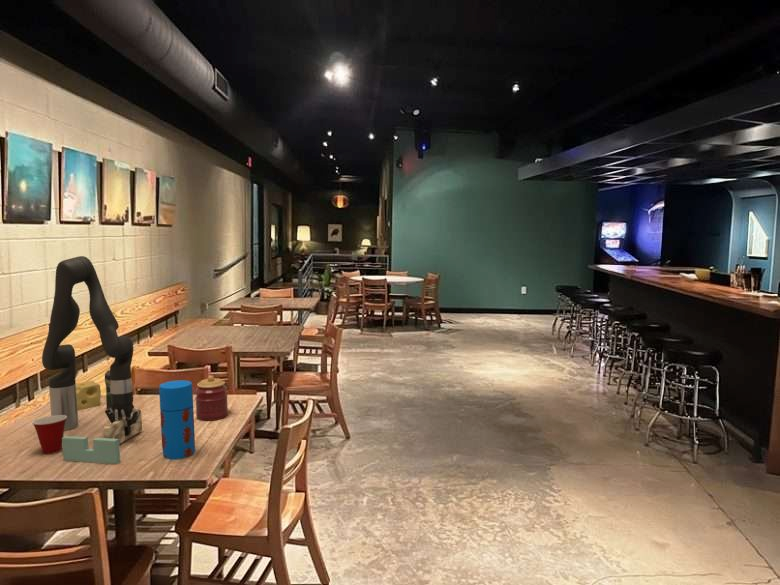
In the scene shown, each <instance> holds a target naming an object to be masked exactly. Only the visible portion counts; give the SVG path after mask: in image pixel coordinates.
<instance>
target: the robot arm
mask: <svg viewBox="0 0 780 585" xmlns="http://www.w3.org/2000/svg"><path fill="white" fill-rule="evenodd" d="M56 265H57V266H56V269H55V277H54V278H55V280H54V281H55V282H54V283H55V284H54V296H53V303H52V307H51V313H50V318H49V319H50V320H49V326H48V332H47V337H46V340H45V343H44V347H43V349H42V354H41V355H42V356H41V363H42V364H41V365H42V367H43V368H44V369H45V370H47V371H55V370H60V369H62V371H60V372H59V373H57V374H56V375H55V376H53V377H51V378H50V379H48V390H49V392H48V393H49V403H50V405H49V406H50V416H56V415H65V416H67V418H66V421H65V426H64V431H68V430H72V429H74V428H77V427H78V426H79V413H78V412H79V410H77V396H76V384H77V383H76V378H77V376H76V375H77V373H76V372H77V371H76V370H77V369H76V365H77V364H76V362H77V360H76V352H75V351H76V350H75V348H74V346H73V345H72V344H69V343H68V344H61V343H62V342H63V341H65V339H66V338H68V336H70V335H71V334H72V333H73V332H74V330H75V329H76V327H77V326H78V324H79V320H80V319H79V318H80V312H81V310H80V306H79V304H78V302H77V301H76V300H75V299H74V297H73V296H72V295H73V288H74V286H75V285H77V284H79V283H80V284H81V283H85V285H86V288H87V289H88V293H89V310H88V311H89V316H90V319H91V321H92V323H93V324H94V326H95V328H96V329H97V331H98V333H99V338H100V341H101V345H102V349H103V351H104V352H105V354H106V355H107V356H109V358H111V359H112V358H113V359H114V361H113V362H112V364H111V365H110V367H109V370H110V394H111V404H112V406H111V408H109V409H107V408H106V409H105V410H104V413H105V415H106V418H108V420H109V423H110V424H112V423H113V422H115V421H117V420H119V419H121V418H123V421H124V426H125V427H124V432H125V436H129V435H130V433H131V425H133V424H135V423H136V421H137V419H138V416H139V414H140V412H141V413H142V410H141V411H140V409H136V408H135V406H134V404H133V403H134V389H133V388H134V387H133V386H134V385H133V378H132V367H131V366H132V362H133V355H134V343H133V341H132V339H131V337H129V336H128V335H118V332H117V330H118V329H119V322H118V320H117V319H116V316H115V315H114V313H113V311H112V309H111V308H110V306H109V304H108V302H107V299H106V297H105V293H104V290H103V288H102V285H101V283H100V282H101V281H100V279H99V276H98V274H97V270H96V269H95V266H94V265H93V263H92V261H91V259H89V258H88V257H87V256H84V255H83V256H82V255H81V256H79V255H78V256H76V257H71V258H67V259H64V260H61V261H60V262H59V263H57V264H56ZM131 413H132V415H133V416H132V418H131Z"/></svg>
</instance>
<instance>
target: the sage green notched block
mask: <svg viewBox="0 0 780 585" xmlns="http://www.w3.org/2000/svg"><path fill="white" fill-rule="evenodd" d="M92 444H93V445H92V447H93V448H89V437H88V436H76V435H75V436H73V435H65V436H63V438H62V458H63V461H67V462H81V463H82V462H83V463H96V464H98V463H99V464H109V465H110V464H112V465H118V464H119V463H120V462H121V452H120V451H121V450H120V444H119V439H114V438H113V439H111V438H104V437H95V438H93V439H92Z"/></svg>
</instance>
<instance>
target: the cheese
mask: <svg viewBox="0 0 780 585" xmlns="http://www.w3.org/2000/svg"><path fill="white" fill-rule="evenodd" d="M76 396H77V410H78V411H81V410H84V409H90V408H94V407H100V406H101V397H102V390H101V384H99V383H97V382H95V381H93V380H88V381H83V382H79V383H76Z"/></svg>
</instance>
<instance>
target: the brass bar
mask: <svg viewBox="0 0 780 585" xmlns="http://www.w3.org/2000/svg"><path fill="white" fill-rule="evenodd" d="M139 410H140V409H139ZM140 411H141V412H140V414H139V416H138V419H137V421H136V423H135V424H133V425H131V433H130V435H129V436H125V432H124V427H125V426H124V421H123V418H121V419H119V420H117V421H115V422H113V423H112V424H111V423H110V424H108V425H106V426H104V427H103V428H102V429H103V438H111V439H119V445H120V444H123V443H124V442H125V441H127V440H128V439H130V438H132V437H134V436H135V435H137V434H139V433H140V432H141V431H143V422H142V420H143V418H142V410H140ZM132 416H133V415H132V413H131V418H132Z"/></svg>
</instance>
